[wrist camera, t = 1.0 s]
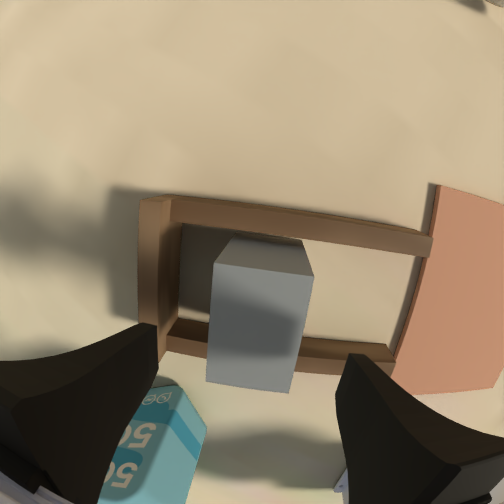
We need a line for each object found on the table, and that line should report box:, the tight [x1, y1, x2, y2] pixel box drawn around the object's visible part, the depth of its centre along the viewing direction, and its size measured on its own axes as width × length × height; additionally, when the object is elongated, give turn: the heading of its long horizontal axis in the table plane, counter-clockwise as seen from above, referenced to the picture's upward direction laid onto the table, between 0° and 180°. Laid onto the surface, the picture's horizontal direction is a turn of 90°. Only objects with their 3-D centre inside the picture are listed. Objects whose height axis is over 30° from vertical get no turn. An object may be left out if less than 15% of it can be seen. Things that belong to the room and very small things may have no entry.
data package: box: [97, 385, 207, 504], centre depth 18 cm, size 12×4×12 cm, turn 110°
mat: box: [390, 185, 504, 395], centre depth 18 cm, size 16×13×1 cm
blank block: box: [206, 231, 314, 393], centre depth 16 cm, size 6×4×7 cm, turn 173°
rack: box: [138, 195, 434, 377], centre depth 17 cm, size 10×16×4 cm, turn 83°
